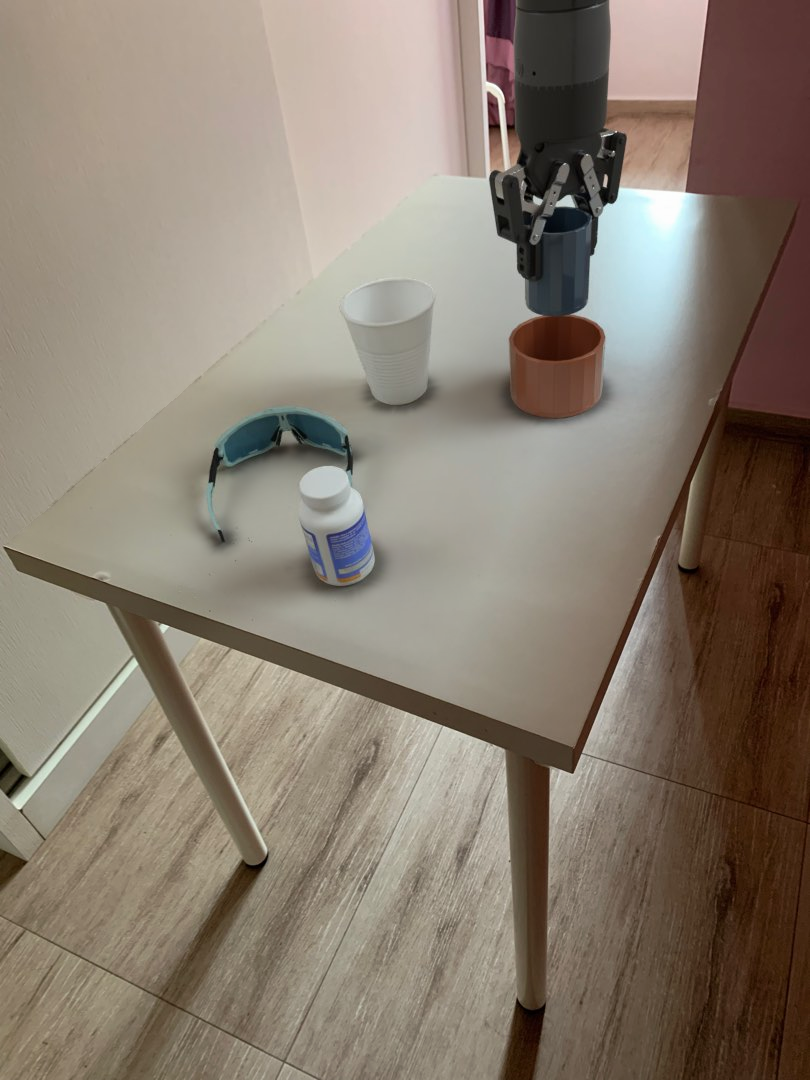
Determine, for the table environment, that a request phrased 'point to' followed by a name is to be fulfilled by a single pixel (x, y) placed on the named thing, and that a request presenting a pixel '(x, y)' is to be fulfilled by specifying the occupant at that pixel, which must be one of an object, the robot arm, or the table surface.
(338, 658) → the table surface
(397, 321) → the cup
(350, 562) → the pill bottle
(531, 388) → the terracotta cup
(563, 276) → the slate cup
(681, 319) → the table surface
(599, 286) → the table surface
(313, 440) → the sunglasses
